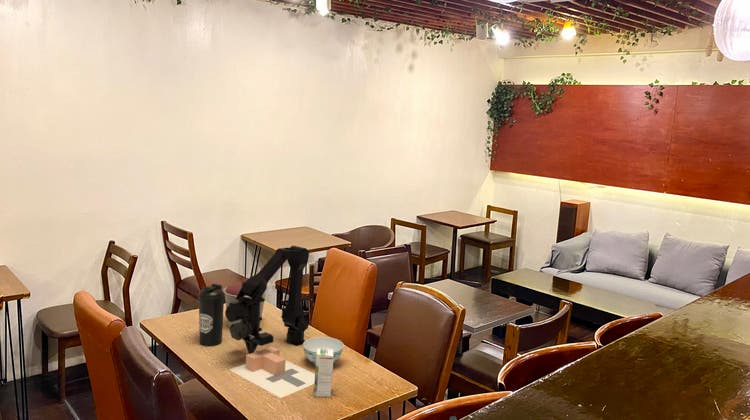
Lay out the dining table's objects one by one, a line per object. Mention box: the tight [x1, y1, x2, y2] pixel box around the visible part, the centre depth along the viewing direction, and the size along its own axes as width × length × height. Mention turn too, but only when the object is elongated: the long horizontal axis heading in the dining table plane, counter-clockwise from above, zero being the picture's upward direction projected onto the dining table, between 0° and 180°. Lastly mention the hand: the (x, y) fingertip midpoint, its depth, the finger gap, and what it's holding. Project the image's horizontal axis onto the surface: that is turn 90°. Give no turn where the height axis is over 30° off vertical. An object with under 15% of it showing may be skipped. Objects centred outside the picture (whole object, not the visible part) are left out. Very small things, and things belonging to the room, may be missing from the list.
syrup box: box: [313, 349, 334, 398], centre depth 187 cm, size 6×6×14 cm
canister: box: [222, 278, 268, 327], centre depth 241 cm, size 18×18×21 cm
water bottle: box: [197, 283, 226, 347], centre depth 222 cm, size 10×10×23 cm
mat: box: [229, 360, 315, 399], centre depth 199 cm, size 20×28×1 cm
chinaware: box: [302, 336, 345, 366], centre depth 210 cm, size 15×15×8 cm
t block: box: [245, 345, 287, 376], centre depth 202 cm, size 12×12×5 cm
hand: (250, 355), depth 209 cm, fingers closed
